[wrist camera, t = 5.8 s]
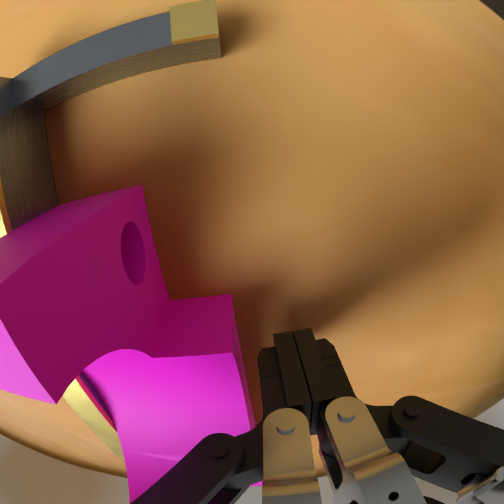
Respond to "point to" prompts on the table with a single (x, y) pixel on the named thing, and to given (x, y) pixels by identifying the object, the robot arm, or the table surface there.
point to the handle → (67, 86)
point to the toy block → (119, 332)
